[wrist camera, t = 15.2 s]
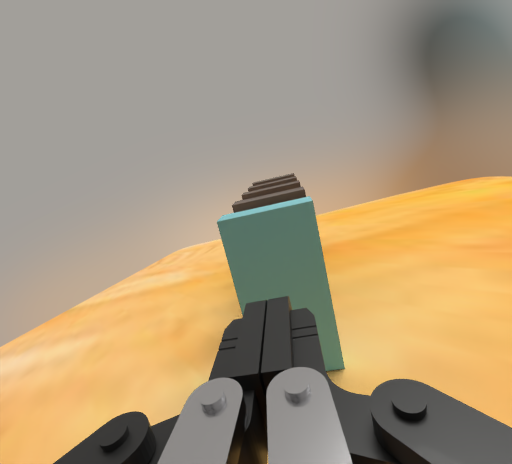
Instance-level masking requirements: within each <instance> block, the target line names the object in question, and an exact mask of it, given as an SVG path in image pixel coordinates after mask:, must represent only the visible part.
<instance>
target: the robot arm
mask: <svg viewBox="0 0 512 464" xmlns="http://www.w3.org/2000/svg"><path fill="white" fill-rule="evenodd" d="M267 455H268V464H512V428H511V427H509V426H507V425H505V424H503V423H501V422H499V421H497V420H495V419H493V418H491V417H489V416H487V415H485V414H484V413H482V412H480V411H478V410H476V409H474V408H472V407H470V406H468V405H466V404H464V403H462V402H460V401H458V400H456V399H454V398H452V397H450V396H448V395H446V394H444V393H442V392H440V391H438V390H436V389H434V388H432V387H430V386H428V385H426V384H424V383H421V382H418V381H414V380H409V379H394V380H389V381H386V382H384V383H382V384H380V385H379V386H378V387H376V388H375V390H374V391H373V393H372V394H371V396H368V395H361V394H355V393H351V392H348V391H345V390H343V389H341V388H339V387H338V386H336V385H335V384H334V383H333V382H332V381H331V380H330V379H329V377H328V375H327V373H326V369H325V364H324V359H323V354H322V350H321V345H320V340H319V335H318V330H317V326H316V321H315V316H314V314H313V313H312V312H310V311H309V310H308V309H307V308H301V309H295V310H292V306H291V302H290V298H289V296H285V297H279V298H273V299H268V301H267V300H262V301H256V302H251V303H246V305H245V309H244V314H243V318H242V319H236V320H233V321H232V322H231V323H230V324H229V326H228V327H227V328H226V329H225V331H224V334H223V337H222V342H221V343H220V346H219V351H218V353H217V356H216V359H215V362H214V365H213V368H212V371H211V374H210V377H209V381H208V382H206V383H204V384H202V385H201V386H199V387H198V388H197V389H196V390H194V391H193V393H192V394H191V395H190V396H189V398H188V399H187V401H186V403H185V405H184V407H183V409H182V412H181V414H179V415H177V416H175V417H173V418H170V419H168V420H165V421H163V422H160V423H158V424H155V425H153V426H150V423H149V421H148V418H147V417H146V415H145V414H143V413H141V412H128V413H125V414H122V415H119V416H117V417H115V418H113V419H112V420H110V421H109V422H107V423H106V424H104V425H103V426H102V427H100V428H99V429H98V430H97V431H95V432H94V433H93V434H91V435H90V436H89V437H87V438H86V439H85V440H83V441H82V442H81V443H80V444H78V445H77V446H76V447H74V448H73V449H72V450H70V451H69V452H68V453H66V454H65V455H64V456H62V457H61V458H60V459H59V460H57V461H56V462H55V463H53V464H267Z"/></svg>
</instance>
